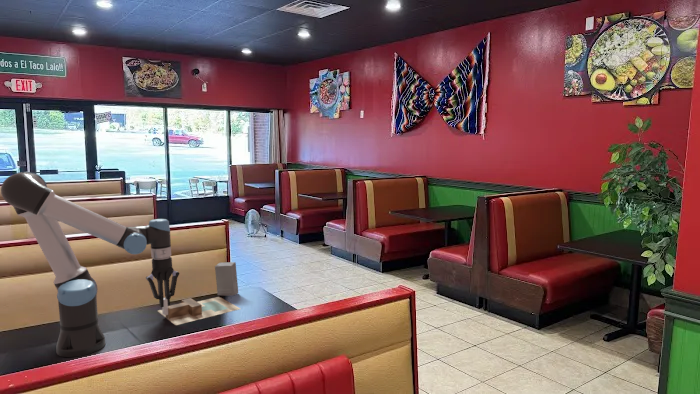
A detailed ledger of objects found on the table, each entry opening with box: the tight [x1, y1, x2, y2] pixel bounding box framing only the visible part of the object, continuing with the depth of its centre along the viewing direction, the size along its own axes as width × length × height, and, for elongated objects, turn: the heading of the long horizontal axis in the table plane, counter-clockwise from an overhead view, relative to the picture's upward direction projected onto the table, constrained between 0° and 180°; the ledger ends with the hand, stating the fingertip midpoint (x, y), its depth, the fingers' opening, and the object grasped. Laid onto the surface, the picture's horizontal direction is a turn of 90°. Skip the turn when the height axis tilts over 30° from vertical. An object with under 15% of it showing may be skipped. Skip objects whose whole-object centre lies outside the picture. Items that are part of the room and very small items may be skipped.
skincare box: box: [214, 261, 239, 297], centre depth 224 cm, size 8×7×16 cm
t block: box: [165, 297, 202, 319], centre depth 198 cm, size 12×12×4 cm
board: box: [157, 296, 242, 326], centre depth 203 cm, size 28×22×1 cm
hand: (165, 314), depth 193 cm, fingers closed
